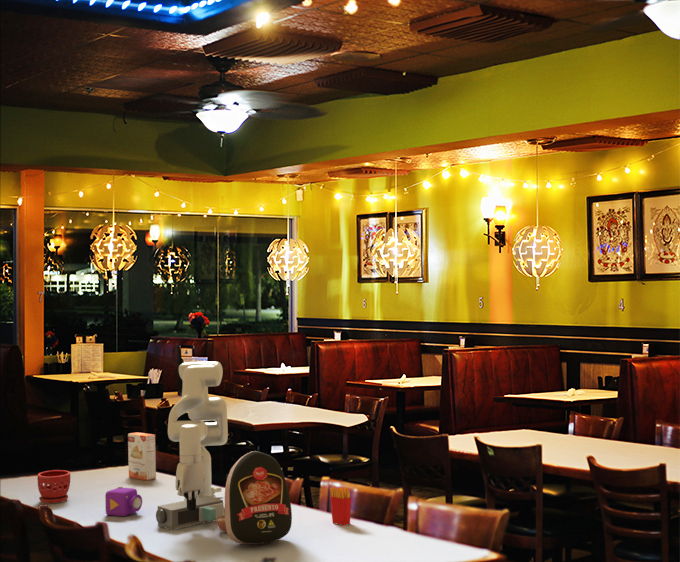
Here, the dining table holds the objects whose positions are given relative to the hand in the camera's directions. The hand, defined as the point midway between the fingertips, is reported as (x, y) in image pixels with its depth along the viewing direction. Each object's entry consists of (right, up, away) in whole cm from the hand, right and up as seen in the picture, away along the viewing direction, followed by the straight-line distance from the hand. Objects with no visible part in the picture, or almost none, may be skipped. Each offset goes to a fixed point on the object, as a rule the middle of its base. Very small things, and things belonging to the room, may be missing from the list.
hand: (191, 509), depth 308 cm
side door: (+8, -6, +6) cm, 11 cm away
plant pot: (-66, -10, +50) cm, 83 cm away
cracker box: (-40, -11, +96) cm, 105 cm away
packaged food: (+26, -6, -21) cm, 34 cm away
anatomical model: (+20, -7, -1) cm, 21 cm away
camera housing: (-2, -7, +9) cm, 12 cm away
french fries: (+54, -6, +3) cm, 54 cm away
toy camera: (-30, -9, +24) cm, 40 cm away
